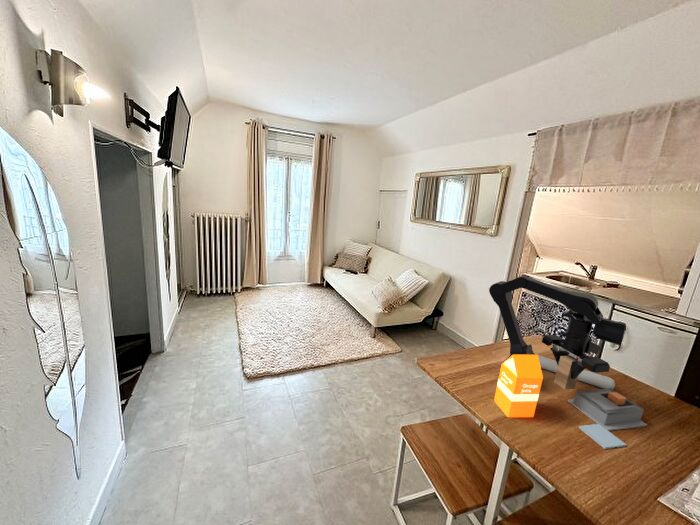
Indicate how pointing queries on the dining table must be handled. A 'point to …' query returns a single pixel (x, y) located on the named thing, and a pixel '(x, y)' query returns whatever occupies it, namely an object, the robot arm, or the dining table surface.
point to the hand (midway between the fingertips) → (566, 374)
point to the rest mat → (602, 436)
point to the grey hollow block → (608, 410)
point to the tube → (583, 376)
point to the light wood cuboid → (565, 373)
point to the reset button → (616, 398)
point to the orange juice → (519, 385)
